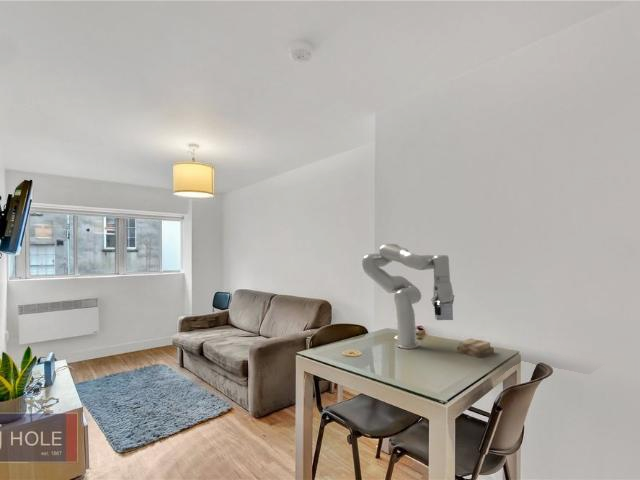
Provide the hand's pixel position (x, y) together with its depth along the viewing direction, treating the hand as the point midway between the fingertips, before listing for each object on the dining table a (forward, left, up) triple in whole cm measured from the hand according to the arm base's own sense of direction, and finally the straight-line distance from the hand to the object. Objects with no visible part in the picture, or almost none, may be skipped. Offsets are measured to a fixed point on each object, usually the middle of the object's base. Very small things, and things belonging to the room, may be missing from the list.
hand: (443, 313), depth 162 cm
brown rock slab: (+8, +12, -20) cm, 25 cm away
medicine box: (0, 0, -3) cm, 3 cm away
